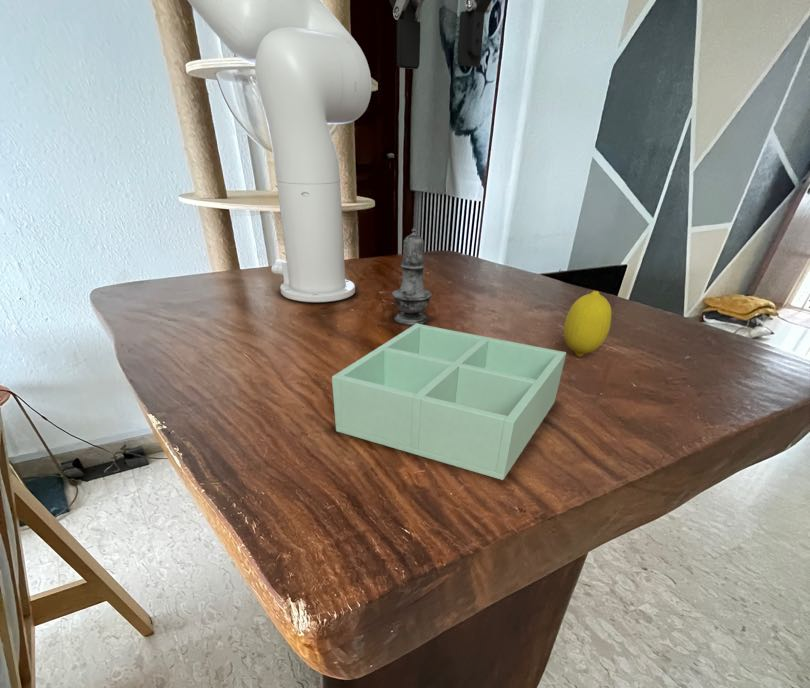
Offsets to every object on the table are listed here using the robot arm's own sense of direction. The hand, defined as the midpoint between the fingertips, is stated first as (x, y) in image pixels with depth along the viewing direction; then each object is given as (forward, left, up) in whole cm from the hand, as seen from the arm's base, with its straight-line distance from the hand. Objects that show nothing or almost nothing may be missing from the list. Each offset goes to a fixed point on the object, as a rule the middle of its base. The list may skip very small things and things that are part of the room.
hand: (437, 67), depth 57 cm
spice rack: (+16, -28, -28) cm, 43 cm away
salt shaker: (-2, -2, -28) cm, 28 cm away
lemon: (+24, -4, -28) cm, 37 cm away
